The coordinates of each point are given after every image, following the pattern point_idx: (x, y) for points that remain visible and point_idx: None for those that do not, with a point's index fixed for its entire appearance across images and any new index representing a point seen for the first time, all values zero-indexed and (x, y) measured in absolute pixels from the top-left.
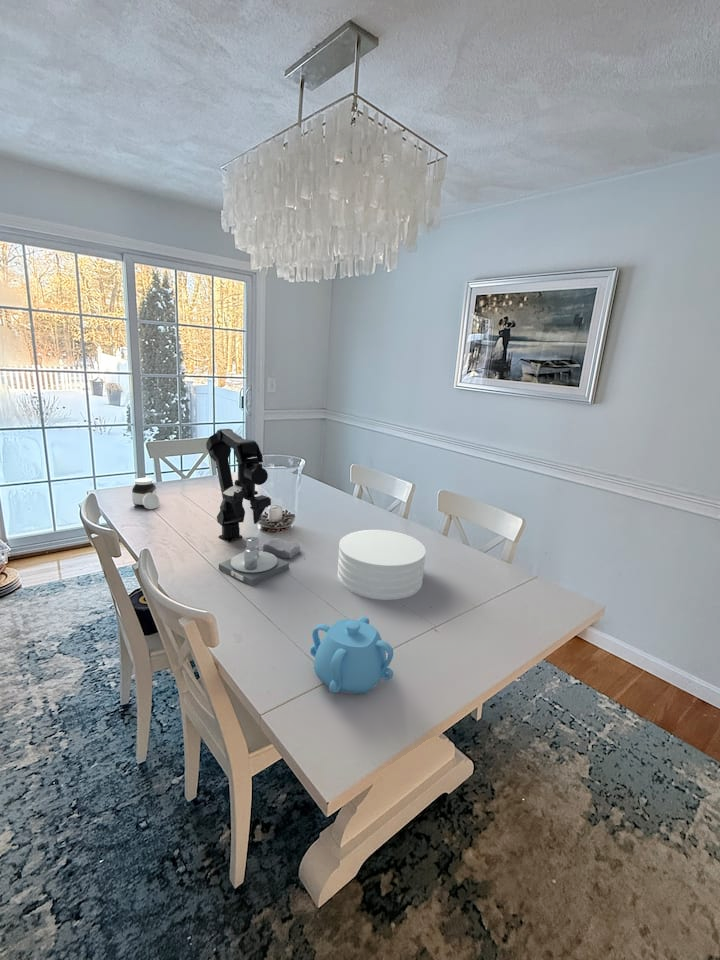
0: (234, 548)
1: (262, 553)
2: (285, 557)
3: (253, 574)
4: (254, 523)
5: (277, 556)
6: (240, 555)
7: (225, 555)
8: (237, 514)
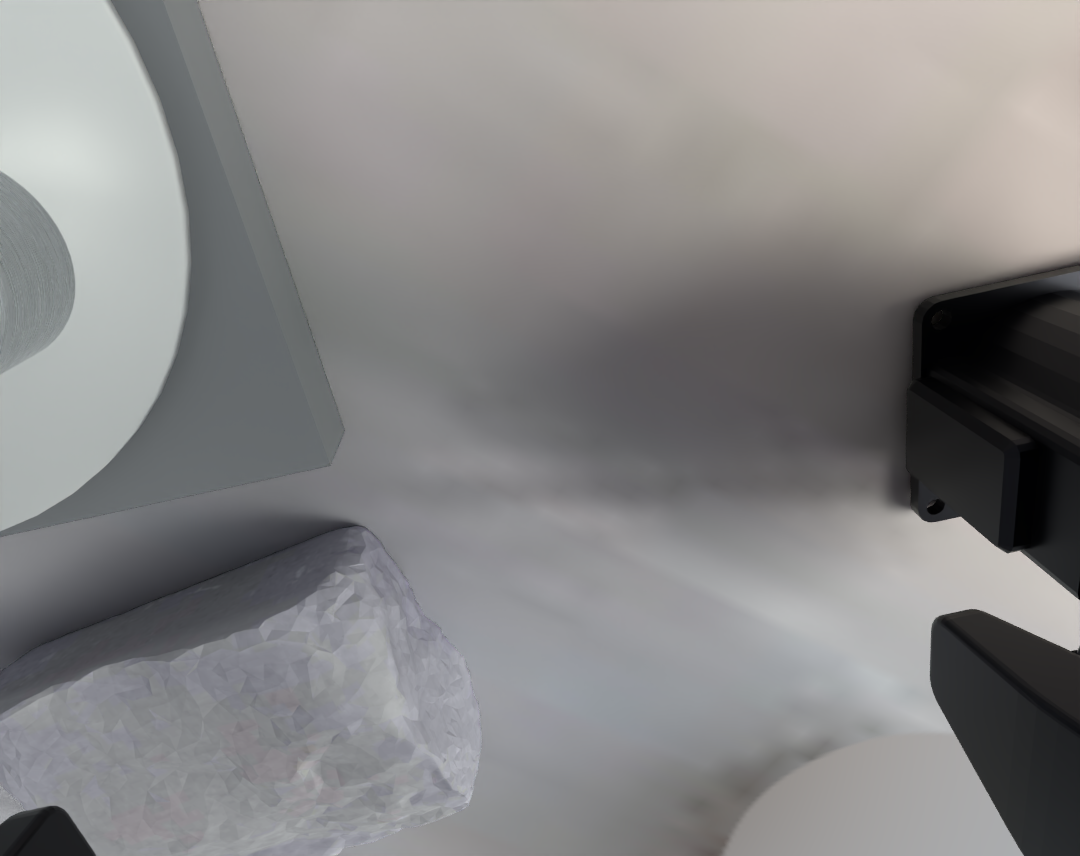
0: (684, 267)
1: (5, 441)
2: (27, 654)
3: None
4: (10, 819)
5: (155, 601)
6: (54, 77)
7: (542, 22)
8: (998, 696)
